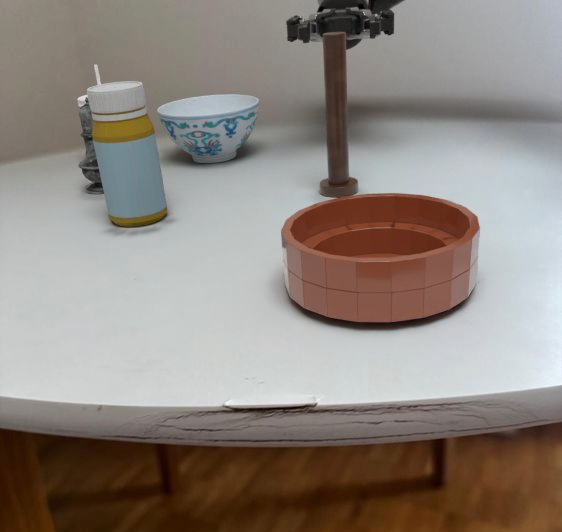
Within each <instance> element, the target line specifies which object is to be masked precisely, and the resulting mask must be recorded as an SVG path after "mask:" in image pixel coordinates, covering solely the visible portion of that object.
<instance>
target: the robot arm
mask: <svg viewBox="0 0 562 532" xmlns="http://www.w3.org/2000/svg"><path fill="white" fill-rule="evenodd" d="M404 2H406V0H317V4H318V8H317V10H316V12H314V13H310V14H309V16H308V18H303V16H301V15H298V14H295V15H293V16H291V17H290V18H288V19H287V20H285V24H286V36H287V37H286V40H287V42H290V43H294V42H295V41H297V40H298V41H301V42H302V44H309V43H310V42H312V43H321V42H322V43H323V34H324V33H329V32H346V51H347V50H350V49H353V48H354V47H356V46H357V45H358V44H360V43H361V41H362V40H365V39H370V40H374V39H376V38H378V37H379V36H380V37H381V34H382V32H383V33H384V35H387V36H392V35H394V34H395V12H394V11H393V9H394V8H395V7H397V6H398V5H400V4H402V3H404Z"/></svg>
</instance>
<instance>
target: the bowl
mask: <svg viewBox="0 0 562 532" xmlns="http://www.w3.org/2000/svg"><path fill="white" fill-rule="evenodd" d="M282 225H283V226H282V228H281V229H280V235H281V249H282V260H283V261H282V262H283V273H284V274H283V276H284V286H285V288H286V291H287V293H288V296H289V297H290V299H292V300H293V301H294V302H295V303H296V304H298V305H299V306H300V307H302V308H303V309H305V310H308V311H311V312H313V313H315V314H319V315H322V316H324V317H327V318H331V319H336V320H341V321H342V320H343V321H348V322H354V323H355V322H356V323H396V322H402V321H410V320H416V319H423V318H427V317H430V316H434V315H436V314H439V313H440V314H441V313H442V312H445V311H449V310H451V309H452V308H453V307H455V306H457V305H458V304H461V303H462V302H463V301H465V300H466V299H468V298H469V296H470V294H471V293H472V291H473V290H474V288H475V286H476V285H477V271H478V258H479V246H480V245H479V244H480V234H481V233H480V232H481V226H480V222H479V217H478V215H476V214H475V213H474V212H473V211H471V210H470V209H469V208H468V207H466V206H464V205H461V204H459V203H456V202H454V201H451V200H449V199H444V198H439V197H434V196H430V195H424V194H416V193H415V194H413V193H401V192H400V193H399V192H384V193H383V192H381V193H362V194H353V195H350V196H345V197H334V198H332V199H328V200H323V201H319V202H316V203H313V204H311V205H309V206H307V207H304V208H301V209H299V210H297V211H296V212H295V213H293V214H291V216H288V217H287V218H286V219H285V221H284V224H282Z"/></svg>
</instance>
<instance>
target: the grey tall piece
mask: <svg viewBox="0 0 562 532" xmlns="http://www.w3.org/2000/svg"><path fill="white" fill-rule="evenodd" d="M85 101H86V104H84V105H83V106H82V107H79V109H78V116H79V120H80V125H81V130H82V132H81V133H80V137H81V138H82V139H83V142H84V146H85V159H84V160H83V161H80V162H79V163H78V168H79V169H81V172H82V174H83V176H84V177H85V179H86V180H88V181H89V182H92V183H91V184H89V185H88V187H86V189H85V191H86V193H88V194H90V195H91V194H92V195H104V190H103V186H102V181H101V176H100V172H99V167H98V162H97V157H96V153H95V148H94V143H93V137H92V129H93V118H92V111H91V109H90V105H89V100H88V98H87V97H86V98H85Z"/></svg>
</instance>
